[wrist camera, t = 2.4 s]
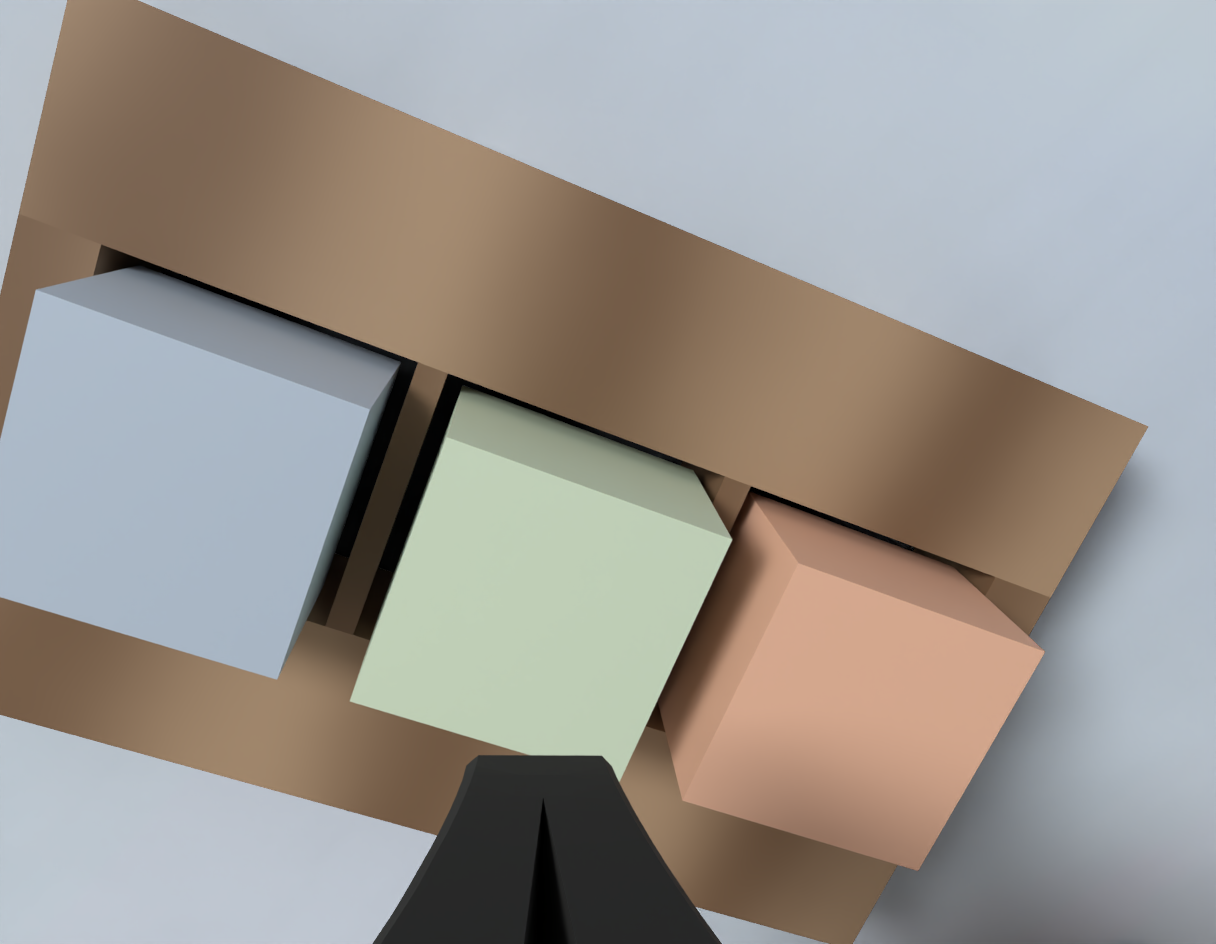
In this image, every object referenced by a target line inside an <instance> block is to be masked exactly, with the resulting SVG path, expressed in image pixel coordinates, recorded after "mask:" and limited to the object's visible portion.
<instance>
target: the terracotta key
mask: <svg viewBox="0 0 1216 944" xmlns="http://www.w3.org/2000/svg"><path fill="white" fill-rule="evenodd" d="M729 534H730V536H731V538H732V541H731V544H730V546H729V548H728V550H727V552H726V554H725V556H724V559H723V561H722V563H721V565H720V567H719V569H718V571H717V574H716V576H715V578H714V580H713V582H712V584H711V587H710V589H709V591H708V593H707V595H706V597H705V599H704V602H703V604H702V606H701V608H700V610H699V612H698V614H697V617H696V619H695V621H694V623H693V625H692V627H691V629H690V632H689V634H688V636H687V638H686V640H685V642H684V644H683V647H682V649H681V651H680V653H679V655H678V657H677V659H676V662H675V664H674V666H673V668H672V670H671V672H670V675H669V677H668V679H667V681H666V683H665V685H664V687H663V690H662V692H661V694H660V696H659V698H658V700H657V701H658V705H659V709H660V713H661V717H662V721H663V725H664V729H665V733H666V737H667V741H668V745H669V749H670V753H671V757H672V761H673V765H674V769H675V773H676V777H677V781H678V785H679V789H680V793H681V797H682V801H685V802H689V803H692V804H695V805H699V806H702V807H705V808H709V809H712V810H715V811H719V812H722V813H725V814H729V815H732V816H735V817H739V818H742V819H746V820H749V821H752V822H756V823H759V824H762V825H766V826H769V827H772V828H776V829H779V830H782V831H786V832H789V833H792V834H796V835H799V836H803V837H806V838H809V839H813V840H816V841H819V842H823V843H826V844H829V845H833V846H836V847H839V848H843V849H846V850H849V851H853V852H856V853H859V854H863V855H866V856H870V857H873V858H876V859H880V860H883V861H886V862H890V863H893V864H896V865H900V866H903V867H906V868H910V869H913V870H916V871H918V870H919V869H920V867H921V865H922V863H923V862H924V860H925V858H926V856H927V855H928V853H929V851H930V850H931V848H932V846H933V844H934V843H935V841H936V839H937V838H938V836H939V834H940V832H941V831H942V829H943V827H944V825H945V824H946V822H947V820H948V819H949V817H950V815H951V813H952V812H953V810H954V808H955V806H956V805H957V803H958V801H959V800H960V798H961V796H962V794H963V793H964V791H965V789H966V788H967V786H968V784H969V782H970V781H971V779H972V777H973V775H974V774H975V772H976V770H977V769H978V767H979V765H980V763H981V762H982V760H983V758H984V756H985V755H986V753H987V751H988V750H989V748H990V746H991V744H992V743H993V741H994V739H995V738H996V736H997V734H998V732H999V731H1000V729H1001V727H1002V725H1003V724H1004V722H1005V720H1006V719H1007V717H1008V715H1009V713H1010V712H1011V710H1012V708H1013V706H1014V705H1015V703H1016V701H1017V700H1018V698H1019V696H1020V694H1021V693H1022V691H1023V689H1024V688H1025V686H1026V684H1027V682H1028V681H1029V679H1030V677H1031V675H1032V674H1033V672H1034V670H1035V669H1036V667H1037V665H1038V663H1039V662H1040V660H1041V658H1042V656H1043V655H1044V653H1045V651H1044V650H1043V649H1042V648H1041V647H1040V646H1038V645H1037V644H1036V643H1035V642H1034V641H1033V640H1032V639H1031V638H1030V637H1029V636H1028V635H1027V634H1025V633H1024V632H1023V631H1022V630H1021V629H1020V628H1019V627H1018V626H1017V625H1016V624H1015V623H1014V622H1012V621H1011V620H1010V619H1009V618H1008V617H1007V616H1006V615H1005V614H1004V613H1003V612H1002V611H1001V610H999V609H998V608H997V607H996V606H995V605H994V604H993V603H992V602H991V601H990V600H989V599H988V598H986V597H985V596H984V595H983V594H982V593H981V592H980V591H979V590H978V589H977V588H976V587H974V586H973V585H972V584H971V583H970V582H969V581H968V580H967V579H966V578H965V577H964V576H963V575H961V574H960V573H959V572H958V571H957V570H956V569H955V568H954V567H953V566H950V565H947V564H944V563H942V562H939V561H936V560H934V559H931V558H928V557H926V556H923V555H920V554H917V553H915V552H912V551H909V550H907V549H904V548H901V547H899V546H896V545H893V544H890V543H888V542H885V541H882V540H880V539H877V538H874V537H872V536H869V535H866V534H863V533H861V532H858V531H855V530H853V529H850V528H847V527H845V526H842V525H839V524H837V523H834V522H831V521H828V520H826V519H823V518H820V517H818V516H815V515H812V514H810V513H807V512H804V511H801V510H799V509H796V508H793V507H791V506H788V505H785V504H783V503H780V502H777V501H774V500H772V499H769V498H766V497H764V496H761V495H758V494H756V493H753V492H750V491H749V492H748V494H747V496H746V498H745V500H744V502H743V505H742V507H741V509H740V511H739V513H738V515H737V518H736V520H735V522H734V524H733V526H732V528H731V530H730V533H729Z"/></svg>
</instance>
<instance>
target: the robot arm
mask: <svg viewBox="0 0 1216 944" xmlns="http://www.w3.org/2000/svg"><path fill="white" fill-rule="evenodd" d="M373 944H722V943H721V942H720V941H719V939H718V938H717V937H716V935H715V934H714V932H713V931H712V930H711V928H710V927H709V926H708V924H707V923H706V921H705V920H704V919H703V917H702V916H701V915H700V913H699V912H698V910H697V909H696V907H695V906H694V904H693V903H692V901H691V900H690V898H689V897H688V895H687V894H686V892H685V891H684V889H683V888H682V887H681V885H680V884H679V882H678V881H677V879H676V878H675V876H674V875H673V873H672V872H671V870H670V869H669V867H668V866H667V864H666V863H665V861H664V860H663V858H662V856H661V855H660V853H659V852H658V850H657V848H656V847H655V845H654V844H653V842H652V840H651V839H650V837H649V835H648V833H647V832H646V830H645V828H644V827H643V825H642V823H641V822H640V820H639V818H638V816H637V815H636V813H635V811H634V809H633V807H632V806H631V804H630V802H629V800H628V798H627V796H626V795H625V793H624V791H623V789H622V787H621V785H620V783H619V781H618V779H617V777H616V774H615V772H614V770H613V768H612V766H611V765H610V764H609V763H608V762H607V761H606V759H605V758H604V757H603V756H592V755H478V756H477V757H476V758H474V759H473V760H472V761H471V762H470V763H469V764H467V765H466V769H465V772H464V776H463V779H462V782H461V785H460V787H459V790H458V792H457V795H456V797H455V800H454V802H453V804H452V806H451V809H450V811H449V813H448V815H447V817H446V819H445V821H444V823H443V825H442V827H441V829H440V831H439V833H438V835H437V837H436V839H435V841H434V843H433V845H432V847H431V849H430V850H429V852H428V854H427V856H426V857H425V859H424V861H423V863H422V864H421V866H420V868H419V870H418V871H417V873H416V875H415V877H414V878H413V880H412V882H411V884H410V885H409V887H408V889H407V891H406V892H405V894H404V896H403V897H402V899H401V901H400V902H399V904H398V906H397V907H396V909H395V911H394V912H393V914H392V915H391V917H390V918H389V920H388V921H387V923H386V924H385V926H384V927H383V929H382V930H381V932H380V933H379V935H378V936H377V938H376V939H375V941H374V942H373Z"/></svg>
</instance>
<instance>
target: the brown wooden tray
mask: <svg viewBox="0 0 1216 944" xmlns="http://www.w3.org/2000/svg"><path fill="white" fill-rule="evenodd" d="M138 265H140V266H143V267H146V268H149V269H151V270H154V271H157V272H159V273H161V270H162V267H163V268H166V269H169V270H171V271H174V272H177V273H179V274H182V275H185V276H188V277H190V278H193V279H196V280H198V281H201V282H204V283H206V284H209V285H212V286H214V287H217V288H220V289H222V290H225V291H228V292H231V293H233V294H236V295H239V296H241V297H244V298H247V299H249V300H252V301H255V302H257V303H260V304H263V305H266V306H268V307H271V308H274V309H276V310H279V311H282V312H284V313H287V314H290V315H292V316H295V317H298V318H300V319H303V320H306V321H309V322H311V323H314V324H317V325H319V326H322V327H325V328H327V329H330V330H333V331H335V332H338V333H341V334H343V335H346V336H349V337H352V338H354V339H357V340H360V341H362V342H365V343H368V344H370V345H373V346H376V347H378V348H381V349H384V350H387V351H389V352H392V353H395V354H397V355H400V356H403V357H405V358H408V359H411V360H413V361H416V362H418V364H417V367H416V370H415V373H414V375H413V378H412V381H411V384H410V387H409V390H408V392H407V395H406V398H405V401H404V404H403V407H402V410H401V412H400V415H399V418H398V421H397V424H396V427H395V429H394V432H393V435H392V438H391V441H390V444H389V446H388V449H387V452H386V455H385V458H384V461H383V463H382V466H381V469H380V472H379V475H378V478H377V480H376V483H375V486H374V489H373V492H372V495H371V498H370V500H369V503H368V506H367V509H366V512H365V515H364V517H363V520H362V523H361V526H360V529H359V532H358V534H357V537H356V540H355V543H354V546H353V549H352V551H351V554H350V557H349V558H348V557H345V556H342V555H339V554H336V553H335V554H334V557H333V560H332V563H331V566H330V569H329V572H328V574H327V577H326V580H325V583H324V586H323V588H322V590H321V592H320V594H319V596H318V598H317V600H316V602H315V604H314V606H313V608H312V610H311V612H310V614H309V616H308V618H307V620H306V622H305V624H304V626H303V628H302V630H301V632H300V634H299V636H298V639H297V641H296V643H295V645H294V647H293V649H292V651H291V653H290V655H289V657H288V659H287V661H286V663H285V665H284V667H283V669H282V671H281V673H280V675H279V677H278V679H277V680H276V679H273V678H270V677H266V676H263V675H260V674H256V673H253V672H249V671H246V670H243V669H239V668H236V667H233V666H229V665H226V664H223V663H219V662H216V661H213V660H209V659H206V658H203V657H199V656H196V655H193V654H189V653H186V652H182V651H179V650H176V649H172V648H169V647H166V646H162V645H159V644H156V643H152V642H149V641H146V640H142V639H139V638H136V637H132V636H129V635H125V634H122V633H119V632H115V631H112V630H109V629H105V628H102V627H99V626H95V625H92V624H89V623H85V622H82V621H79V620H75V619H72V618H69V617H65V616H62V615H58V614H55V613H52V612H48V611H45V610H42V609H38V608H35V607H32V606H28V605H25V604H22V603H18V602H15V601H12V600H8V599H5V598H1V597H0V715H3V716H7V717H11V718H14V719H18V720H21V721H25V722H29V723H32V724H36V725H40V726H43V727H47V728H50V729H54V730H58V731H61V732H65V733H68V734H72V735H76V736H79V737H83V738H87V739H90V740H94V741H97V742H101V743H105V744H108V745H112V746H116V747H119V748H123V749H126V750H130V751H134V752H137V753H141V754H144V755H148V756H152V757H155V758H159V759H163V760H166V761H170V762H173V763H177V764H181V765H184V766H188V767H192V768H195V769H199V770H202V771H206V772H210V773H213V774H217V775H221V776H224V777H228V778H231V779H235V780H239V781H242V782H246V783H249V784H253V785H257V786H260V787H264V788H268V789H271V790H275V791H278V792H282V793H286V794H289V795H293V796H297V797H300V798H304V799H307V800H311V801H315V802H318V803H322V804H326V805H329V806H333V807H336V808H340V809H344V810H347V811H351V812H354V813H358V814H362V815H365V816H369V817H373V818H376V819H380V820H383V821H387V822H391V823H394V824H398V825H402V826H405V827H409V828H412V829H416V830H420V831H423V832H427V833H431V834H434V835H438V833H439V831H440V829H441V827H442V825H443V823H444V821H445V819H446V817H447V815H448V813H449V811H450V809H451V806H452V804H453V802H454V800H455V797H456V795H457V792H458V790H459V787H460V785H461V782H462V779H463V776H464V772H465V769H466V765H467V764H469V763H470V762H471V761H472V760H473V759H474V758H476V757H477V756H478V755H528V754H524V753H521V752H518V751H514V750H511V749H508V748H504V747H501V746H498V745H494V744H491V743H487V742H484V741H481V740H477V739H474V738H471V737H467V736H464V735H461V734H457V733H454V732H451V731H447V730H444V729H441V728H437V727H434V726H430V725H427V724H424V723H420V722H417V721H414V720H410V719H407V718H404V717H400V716H397V715H394V714H390V713H387V712H384V711H380V710H377V709H374V708H370V707H367V706H363V705H360V704H357V703H353V702H350V699H351V696H352V693H353V690H354V687H355V684H356V681H357V678H358V675H359V672H360V669H361V666H362V663H363V660H364V657H365V654H366V651H367V648H368V645H369V642H370V639H371V636H372V633H373V630H374V627H375V624H376V621H377V618H378V615H379V612H380V609H381V606H382V603H383V600H384V598H385V595H386V592H387V589H388V587H389V584H390V581H391V579H392V576H393V573H394V572H391V571H388V570H385V569H382V568H379V564H380V562H381V559H382V556H383V553H384V551H385V548H386V545H387V542H388V539H389V537H390V534H391V531H392V528H393V526H394V523H395V520H396V517H397V515H398V512H399V509H400V506H401V504H402V501H403V498H404V495H405V493H406V490H407V487H408V484H409V481H410V479H411V476H412V473H413V470H414V468H415V465H416V462H417V459H418V457H419V454H420V451H421V448H422V446H423V443H424V440H425V437H426V435H427V432H428V429H429V426H430V424H431V421H432V418H433V415H434V412H435V410H436V407H437V404H438V401H439V399H440V396H441V393H442V390H443V388H444V385H445V382H446V379H447V377H448V374H451V375H454V376H456V377H459V378H462V379H464V380H467V381H470V382H473V383H475V384H478V385H481V386H483V387H486V388H489V389H491V390H494V391H497V392H499V393H502V394H505V395H507V396H510V397H513V398H516V399H518V400H521V401H524V402H526V403H529V404H532V405H534V406H537V407H540V408H542V409H545V410H548V411H551V412H553V413H556V414H559V415H561V416H564V417H567V418H569V419H572V420H575V421H577V422H580V423H583V424H585V425H588V426H591V427H594V428H596V429H599V430H602V431H604V432H607V433H610V434H612V435H615V436H618V437H620V438H623V439H626V440H628V441H631V442H634V443H637V444H639V445H642V446H645V447H647V448H650V449H653V450H655V451H658V452H661V453H663V454H666V455H669V456H672V457H674V458H677V459H680V460H682V463H681V465H680V466H683V467H685V468H688V469H691V470H694V472H695V474H696V476H697V477H698V479H699V481H700V483H701V485H702V486H703V488H704V490H705V492H706V493H707V495H708V497H709V499H710V501H711V502H712V504H713V506H714V508H715V509H716V511H717V513H718V515H719V517H720V518H721V520H722V522H723V524H724V525H725V527H726V529H727V531H728V533H730V530H731V528H732V526H733V524H734V522H735V520H736V518H737V515H738V513H739V511H740V509H741V507H742V505H743V502H744V500H745V498H746V496H747V494H748V492H749V490H750V487H751V486H752V487H755V488H758V489H760V490H763V491H766V492H768V493H771V494H774V495H776V496H779V497H782V498H784V499H787V500H790V501H792V502H795V503H798V504H801V505H803V506H806V507H809V508H811V509H814V510H817V511H819V512H822V513H825V514H827V515H830V516H833V517H836V518H838V519H841V520H844V521H846V522H849V523H852V524H854V525H857V526H860V527H862V528H865V529H868V530H870V531H873V532H876V533H879V534H881V535H884V536H887V537H889V538H892V539H895V540H897V541H900V542H903V543H905V544H908V545H911V546H913V547H915V548H914V550H913V552H915V553H917V554H920V555H923V556H926V557H928V558H931V559H934V560H936V561H939V562H942V563H944V564H947V565H950V566H953V567H954V568H955V569H956V570H957V571H958V572H959V573H960V574H961V575H963V576H964V577H965V578H966V579H967V580H968V581H969V582H970V583H971V584H972V585H973V586H974V587H976V588H977V589H978V590H979V591H980V592H981V593H982V594H983V595H984V596H985V597H986V598H988V599H989V600H990V601H991V602H992V603H993V604H994V605H995V606H996V607H997V608H998V609H999V610H1001V611H1002V612H1003V613H1004V614H1005V615H1006V616H1007V617H1008V618H1009V619H1010V620H1011V621H1012V622H1014V623H1015V624H1016V625H1017V626H1018V627H1019V628H1020V629H1021V630H1022V631H1023V632H1024V633H1025V634H1027V635H1028V636H1029V634H1030V633H1031V631H1032V629H1033V627H1034V626H1035V624H1036V622H1037V620H1038V619H1039V617H1040V615H1041V613H1042V612H1043V610H1044V608H1045V606H1046V605H1047V603H1048V601H1049V599H1050V598H1051V596H1052V594H1053V592H1054V591H1055V589H1056V587H1057V585H1058V584H1059V582H1060V580H1061V578H1062V577H1063V575H1064V573H1065V571H1066V570H1067V568H1068V566H1069V565H1070V563H1071V561H1072V559H1073V558H1074V556H1075V554H1076V552H1077V551H1078V549H1079V547H1080V545H1081V544H1082V542H1083V540H1084V538H1085V537H1086V535H1087V533H1088V531H1089V530H1090V528H1091V526H1092V524H1093V523H1094V521H1095V519H1096V517H1097V516H1098V514H1099V512H1100V510H1101V509H1102V507H1103V505H1104V503H1105V502H1106V500H1107V498H1108V496H1109V495H1110V493H1111V491H1112V489H1113V488H1114V486H1115V484H1116V482H1117V481H1118V479H1119V477H1120V475H1121V474H1122V472H1123V470H1124V468H1125V467H1126V465H1127V463H1128V461H1129V460H1130V458H1131V456H1132V454H1133V453H1134V451H1135V449H1136V447H1137V446H1138V444H1139V442H1140V440H1141V439H1142V437H1143V435H1144V433H1145V432H1146V430H1147V428H1148V426H1146V425H1143V424H1141V423H1139V422H1136V421H1134V420H1131V419H1129V418H1127V417H1124V416H1122V415H1120V414H1117V413H1115V412H1113V411H1110V410H1108V409H1105V408H1103V407H1101V406H1098V405H1096V404H1094V403H1091V402H1089V401H1086V400H1084V399H1082V398H1079V397H1077V396H1075V395H1072V394H1070V393H1067V392H1065V391H1063V390H1060V389H1058V388H1056V387H1053V386H1051V385H1048V384H1046V383H1044V382H1041V381H1039V380H1037V379H1034V378H1032V377H1030V376H1027V375H1025V374H1022V373H1020V372H1018V371H1015V370H1013V369H1011V368H1008V367H1006V366H1003V365H1001V364H999V363H996V362H994V361H992V360H989V359H987V358H984V357H982V356H980V355H977V354H975V353H973V352H970V351H968V350H966V349H963V348H961V347H958V346H956V345H954V344H951V343H949V342H947V341H944V340H942V339H939V338H937V337H935V336H932V335H930V334H928V333H925V332H923V331H920V330H918V329H916V328H913V327H911V326H909V325H906V324H904V323H902V322H899V321H897V320H894V319H892V318H890V317H887V316H885V315H883V314H880V313H878V312H875V311H873V310H871V309H868V308H866V307H864V306H861V305H859V304H856V303H854V302H852V301H849V300H847V299H845V298H842V297H840V296H837V295H835V294H833V293H830V292H828V291H826V290H823V289H821V288H819V287H816V286H814V285H811V284H809V283H807V282H804V281H802V280H800V279H797V278H795V277H792V276H790V275H788V274H785V273H783V272H781V271H778V270H776V269H773V268H771V267H769V266H766V265H764V264H762V263H759V262H757V261H755V260H752V259H750V258H747V257H745V256H743V255H740V254H738V253H736V252H733V251H731V250H728V249H726V248H724V247H721V246H719V245H717V244H714V243H712V242H709V241H707V240H705V239H702V238H700V237H698V236H695V235H693V234H690V233H688V232H686V231H683V230H681V229H679V228H676V227H674V226H672V225H669V224H667V223H664V222H662V221H660V220H657V219H655V218H653V217H650V216H648V215H645V214H643V213H641V212H638V211H636V210H634V209H631V208H629V207H626V206H624V205H622V204H619V203H617V202H615V201H612V200H610V199H608V198H605V197H603V196H600V195H598V194H596V193H593V192H591V191H589V190H586V189H584V188H581V187H579V186H577V185H574V184H572V183H570V182H567V181H565V180H562V179H560V178H558V177H555V176H553V175H551V174H548V173H546V172H543V171H541V170H539V169H536V168H534V167H532V166H529V165H527V164H525V163H522V162H520V161H517V160H515V159H513V158H510V157H508V156H506V155H503V154H501V153H498V152H496V151H494V150H491V149H489V148H487V147H484V146H482V145H479V144H477V143H475V142H472V141H470V140H468V139H465V138H463V137H461V136H458V135H456V134H453V133H451V132H449V131H446V130H444V129H442V128H439V127H437V126H434V125H432V124H430V123H427V122H425V121H423V120H420V119H418V118H415V117H413V116H411V115H408V114H406V113H404V112H401V111H399V110H396V109H394V108H392V107H389V106H387V105H385V104H382V103H380V102H378V101H375V100H373V99H370V98H368V97H366V96H363V95H361V94H359V93H356V92H354V91H351V90H349V89H347V88H344V87H342V86H340V85H337V84H335V83H332V82H330V81H328V80H325V79H323V78H321V77H318V76H316V75H314V74H311V73H309V72H306V71H304V70H302V69H299V68H297V67H295V66H292V65H290V64H287V63H285V62H283V61H280V60H278V59H276V58H273V57H271V56H268V55H266V54H264V53H261V52H259V51H257V50H254V49H252V48H249V47H247V46H245V45H242V44H240V43H238V42H235V41H233V40H231V39H228V38H226V37H223V36H221V35H219V34H216V33H214V32H212V31H209V30H207V29H204V28H202V27H200V26H197V25H195V24H193V23H190V22H188V21H185V20H183V19H181V18H178V17H176V16H174V15H171V14H169V13H167V12H164V11H162V10H159V9H157V8H155V7H152V6H150V5H148V4H145V3H143V2H140V1H138V0H67V5H66V9H65V13H64V18H63V22H62V27H61V31H60V35H59V40H58V44H57V48H56V53H55V57H54V62H53V66H52V70H51V75H50V79H49V84H48V88H47V92H46V97H45V101H44V105H43V110H42V114H41V119H40V123H39V127H38V132H37V136H36V140H35V145H34V149H33V154H32V158H31V162H30V167H29V171H28V176H27V180H26V184H25V189H24V193H23V197H22V202H21V206H20V211H19V215H18V219H17V224H16V228H15V232H14V237H13V241H12V246H11V250H10V254H9V259H8V263H7V268H6V272H5V276H4V281H3V285H2V289H1V294H0V438H1V434H2V430H3V426H4V421H5V417H6V413H7V409H8V405H9V400H10V396H11V392H12V388H13V384H14V379H15V375H16V371H17V367H18V363H19V358H20V354H21V350H22V346H23V342H24V337H25V333H26V329H27V325H28V321H29V316H30V312H31V308H32V304H33V299H34V295H35V291H36V289H41V288H45V287H49V286H53V285H57V284H62V283H66V282H70V281H74V280H79V279H83V278H87V277H91V276H95V275H100V274H104V273H108V272H112V271H116V270H121V269H125V268H129V267H133V266H138ZM619 783H620V785H621V787H622V789H623V791H624V793H625V795H626V796H627V798H628V800H629V802H630V804H631V806H632V807H633V809H634V811H635V813H636V815H637V816H638V818H639V820H640V822H641V823H642V825H643V827H644V828H645V830H646V832H647V833H648V835H649V837H650V839H651V840H652V842H653V844H654V845H655V847H656V848H657V850H658V852H659V853H660V855H661V856H662V858H663V860H664V861H665V863H666V864H667V866H668V867H669V869H670V870H671V872H672V873H673V875H674V876H675V878H676V879H677V881H678V882H679V884H680V885H681V887H682V888H683V889H684V891H685V892H686V894H687V895H688V897H689V898H690V900H691V901H692V903H693V904H694V906H695V907H698V908H702V909H706V910H709V911H713V912H717V913H720V914H724V915H727V916H731V917H735V918H738V919H742V920H745V921H749V922H753V923H756V924H760V925H764V926H767V927H771V928H774V929H778V930H782V931H785V932H789V933H793V934H796V935H800V936H803V937H807V938H811V939H814V940H818V941H822V942H825V943H829V944H853V942H854V940H855V939H856V937H857V935H858V933H859V932H860V930H861V928H862V926H863V925H864V923H865V921H866V919H867V918H868V916H869V914H870V912H871V911H872V909H873V907H874V905H875V904H876V902H877V900H878V898H879V897H880V895H881V893H882V891H883V890H884V888H885V886H886V884H887V883H888V881H889V879H890V877H891V876H892V874H893V872H894V870H895V869H896V867H897V865H896V864H893V863H890V862H886V861H883V860H880V859H876V858H873V857H870V856H866V855H863V854H859V853H856V852H853V851H849V850H846V849H843V848H839V847H836V846H833V845H829V844H826V843H823V842H819V841H816V840H813V839H809V838H806V837H803V836H799V835H796V834H792V833H789V832H786V831H782V830H779V829H776V828H772V827H769V826H766V825H762V824H759V823H756V822H752V821H749V820H746V819H742V818H739V817H735V816H732V815H729V814H725V813H722V812H719V811H715V810H712V809H709V808H705V807H702V806H699V805H695V804H692V803H689V802H685V801H682V797H681V793H680V789H679V785H678V781H677V777H676V773H675V769H674V765H673V761H672V757H671V753H670V749H669V745H668V741H667V737H666V733H665V729H664V725H663V721H662V717H661V713H660V709H659V705H658V701H657V702H656V705H655V707H654V709H653V711H652V713H651V715H650V717H649V720H648V722H647V724H646V726H645V728H644V730H643V732H642V735H641V737H640V739H639V741H638V743H637V745H636V747H635V750H634V752H633V754H632V756H631V758H630V760H629V762H628V765H627V767H626V769H625V771H624V773H623V775H622V778H621V780H620V782H619Z"/></svg>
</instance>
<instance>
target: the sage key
mask: <svg viewBox="0 0 1216 944" xmlns="http://www.w3.org/2000/svg"><path fill="white" fill-rule="evenodd" d="M731 541H732V538H731V536H730V534H729V533H728V531H727V529H726V527H725V525H724V524H723V522H722V520H721V518H720V517H719V515H718V513H717V511H716V509H715V508H714V506H713V504H712V502H711V501H710V499H709V497H708V495H707V493H706V492H705V490H704V488H703V486H702V485H701V483H700V481H699V479H698V477H697V476H696V474H695V472H694V470H691V469H688V468H685V467H683V466H680V465H677V464H675V463H672V462H669V461H667V460H664V459H661V458H658V457H656V456H653V455H650V454H648V453H645V452H642V451H640V450H637V449H634V448H631V447H629V446H626V445H623V444H621V443H618V442H615V441H613V440H610V439H607V438H604V437H602V436H599V435H596V434H594V433H591V432H588V431H586V430H583V429H580V428H578V427H575V426H572V425H569V424H567V423H564V422H561V421H559V420H556V419H553V418H551V417H548V416H545V415H542V414H540V413H537V412H534V411H532V410H529V409H526V408H524V407H521V406H518V405H515V404H513V403H510V402H507V401H505V400H502V399H499V398H497V397H494V396H491V395H488V394H486V393H483V392H480V391H478V390H475V389H472V388H470V387H467V386H464V385H462V388H461V391H460V394H459V396H458V399H457V402H456V404H455V407H454V410H453V413H452V415H451V418H450V421H449V423H448V426H447V429H446V432H445V434H444V437H443V440H442V443H441V445H440V448H439V451H438V453H437V456H436V459H435V462H434V464H433V467H432V470H431V472H430V475H429V478H428V481H427V483H426V486H425V489H424V492H423V494H422V497H421V500H420V502H419V505H418V508H417V511H416V513H415V516H414V519H413V521H412V524H411V527H410V530H409V532H408V535H407V538H406V540H405V543H404V546H403V549H402V551H401V554H400V557H399V560H398V562H397V565H396V568H395V570H394V573H393V576H392V579H391V581H390V584H389V587H388V589H387V592H386V595H385V598H384V600H383V603H382V606H381V609H380V612H379V615H378V618H377V621H376V624H375V627H374V630H373V633H372V636H371V639H370V642H369V645H368V648H367V651H366V654H365V657H364V660H363V663H362V666H361V669H360V672H359V675H358V678H357V681H356V684H355V687H354V690H353V693H352V696H351V699H350V702H353V703H357V704H360V705H363V706H367V707H370V708H374V709H377V710H380V711H384V712H387V713H390V714H394V715H397V716H400V717H404V718H407V719H410V720H414V721H417V722H420V723H424V724H427V725H430V726H434V727H437V728H441V729H444V730H447V731H451V732H454V733H457V734H461V735H464V736H467V737H471V738H474V739H477V740H481V741H484V742H487V743H491V744H494V745H498V746H501V747H504V748H508V749H511V750H514V751H518V752H521V753H524V754H528V755H592V756H603V757H604V758H605V759H606V761H607V762H608V763H609V764H610V765H611V766H612V768H613V770H614V772H615V774H616V777H617V779H618V781H619V782H620V780H621V778H622V775H623V773H624V771H625V769H626V767H627V765H628V762H629V760H630V758H631V756H632V754H633V752H634V750H635V747H636V745H637V743H638V741H639V739H640V737H641V735H642V732H643V730H644V728H645V726H646V724H647V722H648V720H649V717H650V715H651V713H652V711H653V709H654V707H655V705H656V702H657V700H658V698H659V696H660V694H661V692H662V690H663V687H664V685H665V683H666V681H667V679H668V677H669V675H670V672H671V670H672V668H673V666H674V664H675V662H676V659H677V657H678V655H679V653H680V651H681V649H682V647H683V644H684V642H685V640H686V638H687V636H688V634H689V632H690V629H691V627H692V625H693V623H694V621H695V619H696V617H697V614H698V612H699V610H700V608H701V606H702V604H703V602H704V599H705V597H706V595H707V593H708V591H709V589H710V587H711V584H712V582H713V580H714V578H715V576H716V574H717V571H718V569H719V567H720V565H721V563H722V561H723V559H724V556H725V554H726V552H727V550H728V548H729V546H730V544H731Z"/></svg>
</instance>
